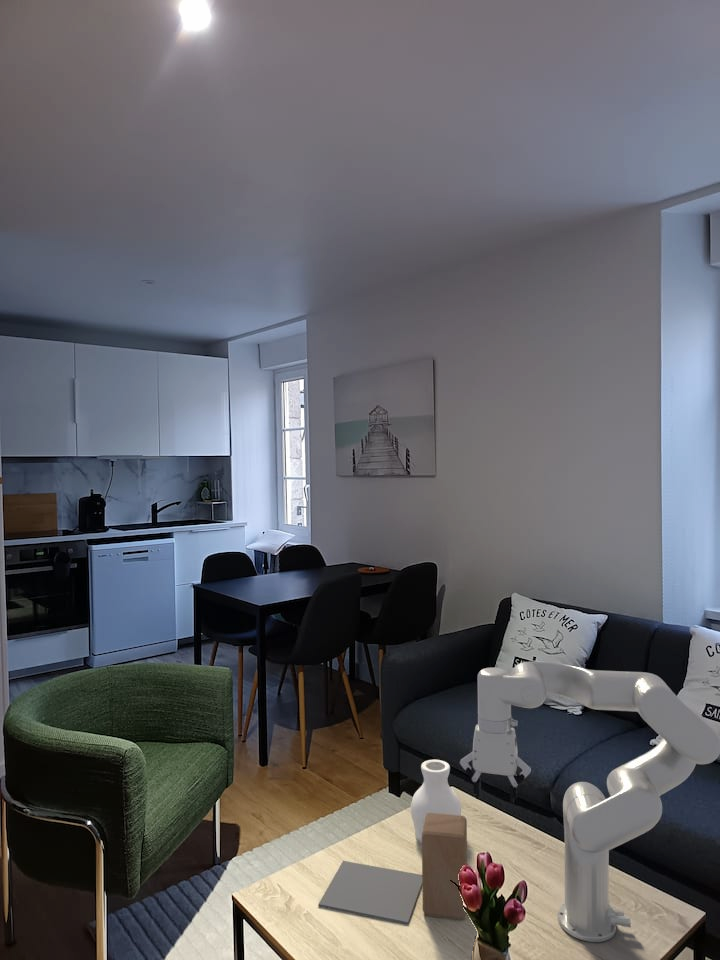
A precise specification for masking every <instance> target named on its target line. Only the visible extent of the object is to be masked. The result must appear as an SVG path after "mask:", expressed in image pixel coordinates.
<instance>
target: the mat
mask: <svg viewBox="0 0 720 960" xmlns="http://www.w3.org/2000/svg"><path fill="white" fill-rule="evenodd" d="M421 889H422V874H420V873H419V874H418V873H415V872H408V871H402V870H397V869H391V868H387V867H380V866H375V865H370V864H369V865H368V864H362V863H358V862H351V861H347V860H342V862H341V863H340V865H339V867H338V869H337V870H336V872H335V874H334V876H333V877H332V879H331V881H330V883H329V885H328V886H327V888H326V890H325V891H324V892H323V893H324V894H323V895H322V898H321V899H320V900H319V902H318V907H319V908H324V909H329V910H334V911H339V912H343V913H349V914H354V915H359V916H363V917H368V918H373V919H379V920H383V921H387V922H392V923H398V924H403V925H409V923H410V921H411V917H412V915H413V911H414V909H415V906H416V903H417V900H418V898H419V895H420V893H421Z"/></svg>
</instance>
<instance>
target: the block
mask: <svg viewBox="0 0 720 960" xmlns="http://www.w3.org/2000/svg"><path fill="white" fill-rule="evenodd" d="M467 823H468V822H467V818H466V816H464V815H461V816H460V815H449V814H438V813H427V814H426V816H425V821H424V826H423V831H422V843H421V866H422V867H421V871H422V872H421V875H422V887H421V889H422V890H421V891H422V892H421V893H422V912H423V915H425V916H427V917H428V916H429V917H435V918H442V919H443V918H444V919H452V920H453V919H454V920H461V921H462V920H464V919H465V918H466V916H467V911H466V912H465V911H464V909H463V901H462V898H461V896H460V893H459V890H458V887H457V886H455V885H454V884H453V883H452V882H451V881H450V880H452V881H453V882H455V883H456V884H457V885H459V880H458V874H459V872H460V869H461V868H462V866H463V865H467V866H468V841H467V840H468V836H467V835H468V834H467V833H468V830H467V828H468V827H467V826H468V825H467Z"/></svg>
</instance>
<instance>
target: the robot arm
mask: <svg viewBox="0 0 720 960" xmlns="http://www.w3.org/2000/svg"><path fill="white" fill-rule="evenodd" d="M547 694H555V695H558V696H564V697H568V698H570V699H572V700H574V701H576V702H577V703H579V704H581V705H583V706H584V707H587V708H588V709H591V710H598V711H619V712H636V713H638V714H639V715H640V717H641V718H642V720H643V721H644V722H645V723H647V725H648V726H649V727H650V728H651V729H653V731H655V733H656V734H658V735H659V736H660V737H661V740H660V741H659V742H658V744H657V745H656V746H654V747H653V748H652V749H650V750H649V751H647V752H645V753H644V754H640V755H639V756H637V757H636V758H634V759H632V760H629V761H628V762H626V763H624V764H622V765H620V766H618V767H616V768H615V769H612V771H610V772H609V773H608V775H607V777H606V787H607V791H608V794H609V797H606V796H605V795H604V794H603V793H602V790H600V789H599V788H598V787H597V786H596V785H594V784H592V783H590V782H587V781H577V782H574V783H572V784H571V785H570V786H569V787H568V788H567V790H566V791H565V793H564V796H563V801H562V813H563V815H562V816H563V830H564V832H563V833H564V834H563V835H564V904H562V905H560V907H559V908H558V911H557V920H558V923H559V925H560V927H561V928H562V929H563V930H564V931H565V932H566V933H567V934H569V935H570V936H572V937H573V938H576V939H578V940H580V941H584V942H589V943H600V942H606V941H608V940H610V939H613V937H614V936H615V934H616V933H617V932H616V931H617V926H620V927H621V926H622V927H624V928H625V927H626V928H631V927H632V926H631V925H632V924H631V923H632V922H631V917H628V916H625V911H624V910H621V909H614V907H611V902H610V899H609V898H610V895H609V894H610V892H609V888H610V887H609V886H610V885H609V884H610V883H609V880H610V879H609V871H610V870H609V868H610V865H609V859H610V858H609V857H610V856H609V855H610V854H609V853H610V851H611V850H613V849H615V848H617V847H619V846H621V845H623V844H625V843H628V842H629V841H631V840H634V839H635V838H637V837H641V835H643V834H645V833H648V832H649V831H650V830H652V829H653V828H654V827H655V826H657V824H658V822H659V821H660V819H661V817H662V814H663V803H662V800H661V796H662V795H664V794H665V793H668V792H669V791H671V790H673V789H674V788H676V787H678V786H680V785H681V784H682V783H683V782H685V781H686V780H687V779H688V778H689V777H690V775H691V774H692V773H693V771H694V769H695V767H696V765H706V764H707V765H709V764H711V763H713V762H714V761H717V759H718V758H719V756H720V737H719V735H718V733H717V732H716V730H715V729H714V728H713V727H712V726H711V724H710V723H709V722H708V721H707V720H706V719H705V718H704V717H703V715H702V714H701V713H700V712H699V711H698V710H697V709H695V708H694V707H692V706H689V705H686V704H685V703H684V702H683V701H682V700H681V699H680V698H679V697H678V696H677V695H676V694H675V692H674V691H672V689H671V688H670V687H669V686H668V685H667V683H666V682H665V681H664V680H663V679H662V678H661V677H660V676H658V675H657V674H654V673H650V672H645V671H644V672H643V671H626V670H625V671H622V670H621V671H619V670H617V671H616V670H600V669H599V670H597V669H596V670H595V669H588V668H584V667H580V666H574V665H569V664H564V663H560V662H553V661H552V662H551V661H550V662H549V661H523V662H520V663H517V664H516V665H515V666H514V667H513V668H512V669H511V671H510V673H509V672H508V671H507V670H506V669H503V668H500V667H486V668H482V669H481V670H480V671H479V672H478V674H477V724H476V725H475V727H474V733H473V742H472V751H471V752H470V753H468V754H467V755H465V756H464V757H462V758H461V759H460V760H459V764H460V766H461V767H462V768H463V770H465V773H466V775H468V776H469V777H470V779H471V781H472V782H473V794H475V795H476V796H475V797H476V798H475V799H476V800H480V799H481V795H482V777H481V775H482V773H484V774H493V775H500V776H507V778H508V780H509V782H510V785H509V803H510V804H511V805H514V801H515V800H518V799H517V798H518V785H520V784H521V783H522V782H523V781H525V779H526V778H527V777H528V776H529V775H530V774H531V772H532V767H530V766H529V765H528V764H527V763H526V762H525V761H523V760H522V759H521V758H520V757H519V755H518V754H519V753H518V741H517V735H516V729H515V727H518V723H519V721H518V720H515V719H513V717H512V706H514V707H519V708H523V709H525V708H526V709H535V708H538V707H540V706H542V705H543V704H544V702H545V700H547V699H546V698H547ZM471 761H472V762H471ZM470 762H471V764H472V766H471V765H470ZM518 767H519V768H520V769H521V770H522V771H521V772H520V773H518V774H517V768H518Z"/></svg>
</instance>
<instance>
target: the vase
mask: <svg viewBox="0 0 720 960" xmlns="http://www.w3.org/2000/svg"><path fill="white" fill-rule="evenodd" d="M420 770H421V773H422V777H423V782H422V785H420V786H419V787H418V789H417V790H416V791H415V792H414V794H413V797H412V799H411V800H412V801H411V802H410V814H411V819H412V823H413V828H414V835H415V838H416V840H417V841H418V842H420V843H421V844H422V831H423V826H424V821H425V816H426V814H427V813H438V814H449V815H460V816H462V803H461V800H460V798H459V797H458V795H457V794H456V792H455V791H454V790H453V788H452V787H450V785H449V782H448V777H449V775H450V771H451V766H450V764H449V763H448V762H447V761H445V760H440V759H428V760H425V761H424V762H422V763H421V765H420Z"/></svg>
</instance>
